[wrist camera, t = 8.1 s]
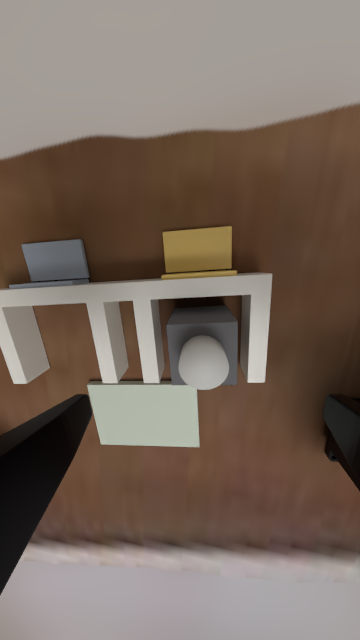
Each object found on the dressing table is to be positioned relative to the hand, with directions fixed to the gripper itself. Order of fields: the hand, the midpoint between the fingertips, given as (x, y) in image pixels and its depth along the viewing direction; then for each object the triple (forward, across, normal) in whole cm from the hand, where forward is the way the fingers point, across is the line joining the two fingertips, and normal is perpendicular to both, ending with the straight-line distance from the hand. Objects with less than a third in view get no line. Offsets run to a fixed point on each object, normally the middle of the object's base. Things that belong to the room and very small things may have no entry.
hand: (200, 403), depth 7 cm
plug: (+9, 0, 0) cm, 9 cm away
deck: (+9, +5, +8) cm, 13 cm away
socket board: (+9, +5, -1) cm, 10 cm away
